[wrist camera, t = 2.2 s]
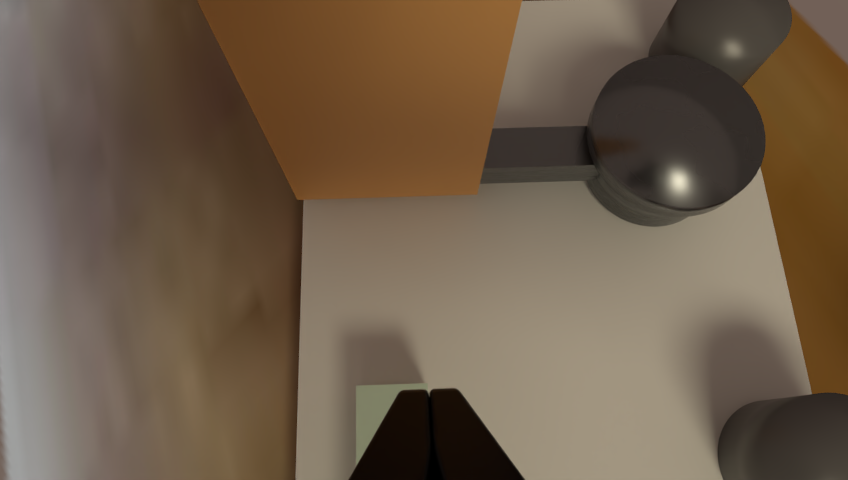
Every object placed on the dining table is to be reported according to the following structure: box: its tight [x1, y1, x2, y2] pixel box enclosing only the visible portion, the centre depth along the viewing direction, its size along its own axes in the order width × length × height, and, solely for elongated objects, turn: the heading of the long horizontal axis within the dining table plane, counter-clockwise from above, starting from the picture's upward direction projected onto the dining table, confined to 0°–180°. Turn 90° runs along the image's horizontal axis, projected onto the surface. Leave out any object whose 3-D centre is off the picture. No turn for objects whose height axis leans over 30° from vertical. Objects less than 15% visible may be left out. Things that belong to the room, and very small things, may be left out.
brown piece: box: [197, 0, 765, 227], centre depth 16 cm, size 15×5×10 cm, turn 92°
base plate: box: [296, 0, 848, 480], centre depth 19 cm, size 22×16×4 cm
